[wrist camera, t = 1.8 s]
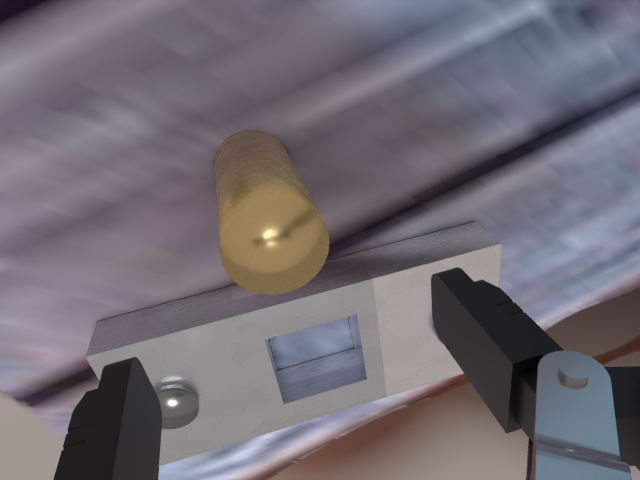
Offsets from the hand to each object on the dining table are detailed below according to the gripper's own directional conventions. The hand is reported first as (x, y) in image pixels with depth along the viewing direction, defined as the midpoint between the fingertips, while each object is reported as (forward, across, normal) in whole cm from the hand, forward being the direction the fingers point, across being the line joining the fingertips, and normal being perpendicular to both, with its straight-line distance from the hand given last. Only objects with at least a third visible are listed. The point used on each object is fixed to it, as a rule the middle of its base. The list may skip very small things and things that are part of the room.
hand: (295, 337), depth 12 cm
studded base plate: (+14, -1, +12) cm, 19 cm away
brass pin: (+14, 0, 0) cm, 14 cm away
